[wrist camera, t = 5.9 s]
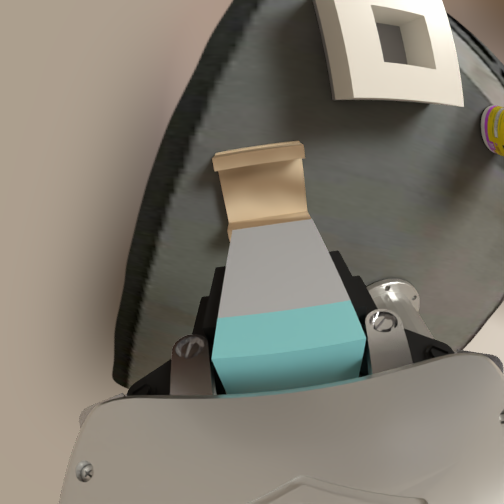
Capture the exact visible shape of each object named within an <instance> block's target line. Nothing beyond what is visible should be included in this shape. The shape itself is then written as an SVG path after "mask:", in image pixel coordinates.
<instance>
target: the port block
mask: <svg viewBox="0 0 504 504" xmlns="http://www.w3.org/2000/svg"><path fill="white" fill-rule="evenodd" d="M312 1H313V5H314V9H315V13H316V17H317V21H318V25H319V29H320V34H321V38H322V43H323V48H324V53H325V58H326V63H327V69H328V74H329V80H330V87H331V93H332V100H388V101H405V102H417V103H427V104H440V105H451V106H460V107H464V103H463V93H462V84H461V77H460V71H459V65H458V59H457V54H456V49H455V45H454V40H453V36H452V32H451V28H450V25H449V21H448V18H447V14H446V11H445V8H444V5H443V2H442V0H312Z"/></svg>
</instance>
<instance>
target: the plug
mask: <svg viewBox="0 0 504 504" xmlns="http://www.w3.org/2000/svg"><path fill="white" fill-rule="evenodd" d="M365 342H366V336H365V334H364V331H363V329H362V327H361V324H360V322H359V319H358V317H357V315H356V312H355V310H354V307H353V305H352V303H351V300H350V298H349V296H348V294H347V291H346V289H345V287H344V285H343V282H342V280H341V278H340V276H339V274H338V271H337V269H336V267H335V265H334V263H333V261H332V258H331V256H330V254H329V252H328V250H327V248H326V246H325V244H324V242H323V240H322V238H321V236H320V234H319V232H318V230H317V228H316V226H315V224H314V222H313V220H312V219H308V220H301V221H293V222H286V223H279V224H272V225H265V226H258V227H251V228H244V229H237V230H232V235H231V241H230V247H229V252H228V258H227V264H226V270H225V276H224V282H223V288H222V294H221V300H220V306H219V312H218V319H217V325H216V332H215V338H214V345H213V351H212V358H211V359H212V361H213V364H214V366H215V368H216V371H217V373H218V375H219V377H220V380H221V382H222V384H223V386H224V388H225V391H226V393H227V395H228V394H245V393H258V392H269V391H279V390H288V389H295V388H303V387H310V386H316V385H322V384H328V383H333V382H339V381H344V380H349V379H354V378H358V377H359V372H360V368H361V363H362V358H363V353H364V348H365Z"/></svg>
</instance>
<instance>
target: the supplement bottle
mask: <svg viewBox="0 0 504 504" xmlns="http://www.w3.org/2000/svg"><path fill="white" fill-rule="evenodd" d="M481 133H482V138H483V140H484V143H485V145H486V146H487V148H488V149H489V150H490V151H492V152H494V153H496V154H499V155H501V156H504V107H500V106H489V107H487V108H486V109H485V110H484V112H483V114H482V118H481Z"/></svg>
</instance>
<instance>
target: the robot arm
mask: <svg viewBox="0 0 504 504" xmlns="http://www.w3.org/2000/svg"><path fill="white" fill-rule="evenodd" d="M329 254H330V256H331V258H332V261H333V263H334V265H335V267H336V269H337V271H338V274H339V276H340V278H341V280H342V282H343V285H344V287H345V289H346V291H347V294H348V296H349V298H350V300H351V303H352V305H353V307H354V310H355V312H356V315H357V317H358V319H359V322H360V324H361V327H362V329H363V331H364V334H365V336H366V342H365V348H364V353H363V358H362V363H361V368H360V372H359V377H358V378H354V379H349V380H344V381H339V382H333V383H328V384H322V385H316V386H310V387H303V388H295V389H288V390H279V391H269V392H258V393H245V394H228V395H227V393H226V391H225V388H224V386H223V384H222V382H221V380H220V377H219V375H218V373H217V371H216V368H215V366H214V364H213V361H212V359H211V358H212V351H213V345H214V338H215V332H216V325H217V319H218V312H219V306H220V300H221V294H222V288H223V282H224V276H225V270H226V266H224V267H217V268H216V269H215V273H214V278H213V282H212V286H211V291H210V295H209V296H206V297H202V298H201V301H200V305H199V309H198V313H197V317H196V321H195V325H194V329H193V333H192V334H190V335H186V336H184V337H182V338H180V339H179V340H178V341H176V342H175V344H174V345H173V348H172V356H171V359H170V360H169V361H167V362H166V363H165V364H163V365H162V366H160V367H159V368H157V369H156V370H154V371H152V372H151V373H149V374H148V375H146V376H145V377H143V378H142V379H140V380H139V381H137V382H136V383H134V384H133V385H132V386H131V387H130V389H129V390H128V393H127V394H126V395H124V394H123V393H121V394H119V395H116V396H114V397H112V398H109V399H107V400H104V401H102V402H99V403H97V404H95V405H92V406H89V407H87V408H86V409H84V410H83V411H82V413H81V415H80V428H81V430H80V432H79V434H78V436H77V439H76V442H75V445H74V447H73V450H72V453H71V456H70V459H69V463H68V466H67V470H66V474H65V478H64V482H63V486H62V490H61V494H60V500H59V504H504V373H503V364H502V362H501V361H500V359H499V358H498V357H496V356H494V355H490V354H483V353H476V352H470V351H464V350H458V349H457V351H456V352H453V351H452V349H451V348H450V347H449V346H448V345H447V344H445V343H443V342H440V341H437V340H435V339H434V338H433V336H432V334H431V333H430V331H429V329H428V328H427V326H426V325H425V323H424V321H423V320H422V318H421V317H420V315H419V314H418V311H419V306H420V298H419V295H418V292H417V291H416V289H415V288H414V287H413V286H412V285H411V284H410V283H409V282H407V281H405V280H401V279H386V280H382V281H378V282H375V283H373V284H371V285H369V286H367V287H366V286H365V284H364V282H363V280H362V279H361V277H360V276H353V277H352V275H351V273H350V271H349V269H348V267H347V265H346V264H345V262H344V260H343V258H342V256H341V254H340V253H339V251H332V252H329Z"/></svg>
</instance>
